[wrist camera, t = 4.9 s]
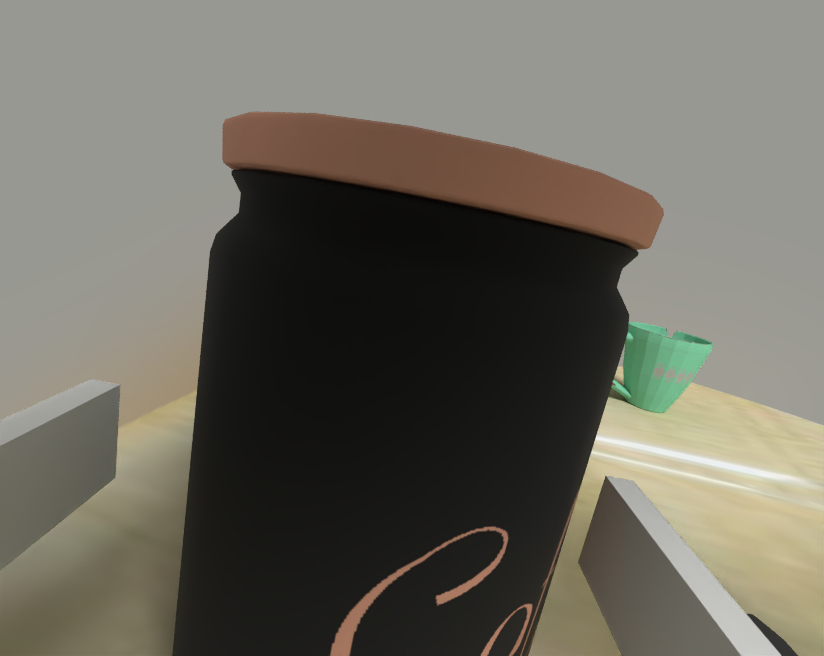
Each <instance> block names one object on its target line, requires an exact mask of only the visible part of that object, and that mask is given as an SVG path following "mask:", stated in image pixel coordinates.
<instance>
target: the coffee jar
mask: <svg viewBox="0 0 824 656" xmlns="http://www.w3.org/2000/svg"><path fill="white" fill-rule="evenodd" d="M223 162H224V163H225V164H226V165H227V166H229V167H230V168H231V169H233V171H232V176H233V178H234V180H235V182H236V184H237V186H238V188H239V190H240V192H241V198H240V208H239V213H238V214H237V215H236V216H235V217H234V218H233V219H232V220H230V221H229V222H228V223H227V224H226V225H225V226H224V227H223V228H222V229H221V230H220V231H219V232H218V233H217V234H216V236H215V239H214V242H213V245H212V248H211V251H210V258H209V269H208V280H207V290H206V301H205V312H204V323H203V333H202V344H201V355H200V366H199V377H198V387H197V398H196V409H195V419H194V430H193V441H192V452H191V462H190V473H189V484H188V495H187V505H186V516H185V527H184V538H183V548H182V559H181V570H180V581H179V591H178V602H177V613H176V623H175V634H174V645H173V656H528V654H529V651H530V648H531V644H532V641H533V638H534V635H535V631H536V628H537V625H538V622H539V619H540V615H541V612H542V609H543V606H544V602H545V599H546V596H547V593H548V589H549V586H550V583H551V580H552V577H553V573H554V570H555V567H556V564H557V560H558V557H559V554H560V551H561V547H562V544H563V541H564V538H565V535H566V531H567V528H568V525H569V522H570V518H571V515H572V512H573V509H574V505H575V502H576V499H577V496H578V493H579V489H580V486H581V483H582V480H583V476H584V473H585V470H586V467H587V464H588V460H589V457H590V454H591V451H592V447H593V444H594V441H595V438H596V434H597V431H598V428H599V425H600V422H601V418H602V415H603V412H604V409H605V405H606V402H607V399H608V396H609V392H610V389H611V386H612V383H613V380H614V376H615V373H616V370H617V367H618V363H619V360H620V357H621V354H622V350H623V347H624V344H625V341H626V338H627V334H628V325H629V313H628V311H627V309H626V307H625V304H624V302H623V300H622V298H621V296H620V294H619V292H618V289H617V284H618V281H619V278H620V274H621V271H622V269H623V268H624V267H625V266H626V265H627V264H628V263H630V262H631V261H632V260H633V259H634V258H635V257H636V256H638V252H637V251H636V250H638V249H647V248H649V247H650V246H651V244H652V242H653V239H654V237H655V235H656V232H657V230H658V227H659V225H660V223H661V220H662V218H663V208H662V207H661V206H660V205H659V203H658V202H657V201H656V200H655V199H654V197H653V196H652V195H650V194H648V193H647V192H644V191H642V190H640V189H637V188H635V187H633V186H631V185H628V184H626V183H624V182H621V181H619V180H617V179H614V178H612V177H610V176H607V175H605V174H603V173H600V172H597V171H594V170H590V169H587V168H584V167H580V166H577V165H573V164H570V163H566V162H563V161H559V160H556V159H552V158H549V157H545V156H542V155H538V154H535V153H532V152H528V151H525V150H521V149H518V148H514V147H509V146H504V145H500V144H495V143H490V142H485V141H480V140H475V139H470V138H466V137H461V136H456V135H451V134H447V133H442V132H437V131H432V130H427V129H423V128H418V127H413V126H407V125H400V124H392V123H385V122H377V121H370V120H362V119H355V118H347V117H340V116H332V115H325V114H317V113H285V112H250V113H246V114H242V115H239V116H235V117H232V118H229V119H226V120H225V121H224V123H223Z"/></svg>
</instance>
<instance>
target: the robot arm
mask: <svg viewBox="0 0 824 656" xmlns="http://www.w3.org/2000/svg"><path fill="white" fill-rule="evenodd" d="M119 398H120V385H119V384H114V383H109V382H104V381H99V380H93V379H90V380H88V381H86V382H84V383H81V384H79V385H77V386H75V387H72V388H70V389H68V390H66V391H64V392H61V393H59V394H57V395H55V396H52V397H50V398H48V399H46V400H44V401H41V402H39V403H37V404H35V405H33V406H30V407H28V408H26V409H24V410H21V411H19V412H17V413H15V414H13V415H10V416H8V417H6V418H4V419H1V420H0V570H1V569H3V568H4V567H5V566H6V565H8V564H9V563H10V562H11V561H12V560H14V559H15V558H16V557H17V556H19V555H20V554H21V553H22V552H24V551H25V550H26V549H27V548H29V547H30V546H31V545H32V544H34V543H35V542H36V541H37V540H39V539H40V538H41V537H42V536H43V535H45V534H46V533H47V532H48V531H50V530H51V529H52V528H53V527H55V526H56V525H57V524H58V523H60V522H61V521H62V520H63V519H65V518H66V517H67V516H68V515H69V514H71V513H72V512H73V511H74V510H76V509H77V508H78V507H79V506H81V505H82V504H83V503H84V502H86V501H87V500H88V499H89V498H91V497H92V496H93V495H94V494H95V493H97V492H98V491H99V490H100V489H102V488H103V487H104V486H105V485H107V484H108V483H109V482H110V481H112V480H113V479H114V478H115V474H116V455H117V436H118V417H119ZM578 563H579V565H580V567H581V569H582V571H583V574H584V576H585V578H586V580H587V582H588V584H589V586H590V588H591V590H592V593H593V595H594V597H595V599H596V601H597V603H598V605H599V607H600V609H601V612H602V614H603V616H604V618H605V620H606V622H607V624H608V626H609V629H610V631H611V633H612V635H613V637H614V639H615V641H616V643H617V645H618V648H619V650H620V652H621V654H622V656H798V655H797V654H796V653H795V652H794V651H793V650H792V648H791V647H790V646H789V645H788V644H787V643H786V642H785V641H784V640H783V639H782V638H781V637H780V636H779V635H777V634H776V633H775V632H774V631H772V630H771V629H770V628H769V627H768V626H766V625H765V624H764V623H763V622H761V621H760V620H759V619H758V618H757V617H755V616H754V615H752V614H746V613H745V612H744V611H743V610H742V608H741V607H740V606H739V605H738V604H737V602H736V601H735V600H734V599H733V598H732V597H731V595H730V594H729V593H728V592H727V591H726V589H725V588H724V587H723V586H722V585H721V584H720V582H719V581H718V580H717V579H716V578H715V577H714V575H713V574H712V573H711V572H710V571H709V569H708V568H707V567H706V566H705V565H704V564H703V562H702V561H701V560H700V559H699V558H698V556H697V555H696V554H695V553H694V552H693V551H692V549H691V548H690V547H689V546H688V545H687V543H686V542H685V541H684V540H683V539H682V538H681V536H680V535H679V534H678V533H677V532H676V530H675V529H674V528H673V527H672V526H671V525H670V523H669V522H668V521H667V520H666V519H665V517H664V516H663V515H662V514H661V513H660V512H659V510H658V509H657V508H656V507H655V506H654V505H653V503H652V502H651V501H650V500H649V499H648V497H647V496H646V495H645V494H644V493H643V492H642V490H641V489H640V488H639V487H638V486H637V484H636V483H635V482H634V481H632V480H626V479H621V478H616V477H610V476H606V477H605V480H604V483H603V486H602V489H601V492H600V495H599V499H598V502H597V505H596V508H595V511H594V514H593V517H592V520H591V524H590V527H589V530H588V533H587V536H586V539H585V542H584V546H583V549H582V552H581V555H580V558H579V561H578Z"/></svg>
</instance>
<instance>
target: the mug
mask: <svg viewBox="0 0 824 656" xmlns="http://www.w3.org/2000/svg"><path fill="white" fill-rule="evenodd" d="M712 347H713V343H712V342H710V341H707V340H705V339H702V338H699V337H696V336H693V335H689V334H686V333H683V332H679V331H677V332H676V333H675V334H674V335H673V336H672V337H668V336H667V329H666V328H663V327H659V326H653V325H649V324H644V323H636V322H629V325H628V334H627V338H626V341H625V353H624V363H623V369H624V386H622V385H621V384H619V383H618V382H617V381H615V380H613V383H612V386H611V388H612V389H614V390H615V391H617V392H618V393H619V394H621V395H622V396H624V397H625V398H626V400H627V402H629V403H630V404H632V405H634V406H636V407H639V408H641V409H645V410H648V411H652V412H657V413H664V412H666V410H667V409H668V408H669V407H670V406H671V405H672V404H673V403H674V402H675V401H676V400H677V399H678V398H679V397H680V395H681V394H682V393H683V392H684V390H685V389H686V388H687V387H688V385H689V384H690V383H691V381H692V380H693V378H694V377H695V375H696V373H697V372H698V370H699V369H700V367H701V366H702V364H703V363H704V361H705V360H706V358H707V357H708V355H709V354H710V352H711V350H712Z"/></svg>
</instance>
